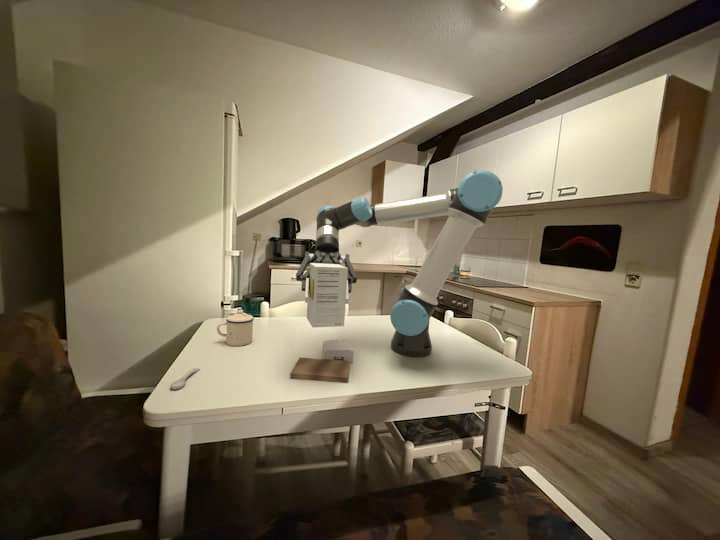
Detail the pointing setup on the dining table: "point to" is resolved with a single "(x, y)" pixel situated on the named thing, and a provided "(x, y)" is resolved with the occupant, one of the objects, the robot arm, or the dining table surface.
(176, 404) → the dining table surface
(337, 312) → the supplement box
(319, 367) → the walnut board
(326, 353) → the charger
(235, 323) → the teacup with lid
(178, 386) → the spoon
